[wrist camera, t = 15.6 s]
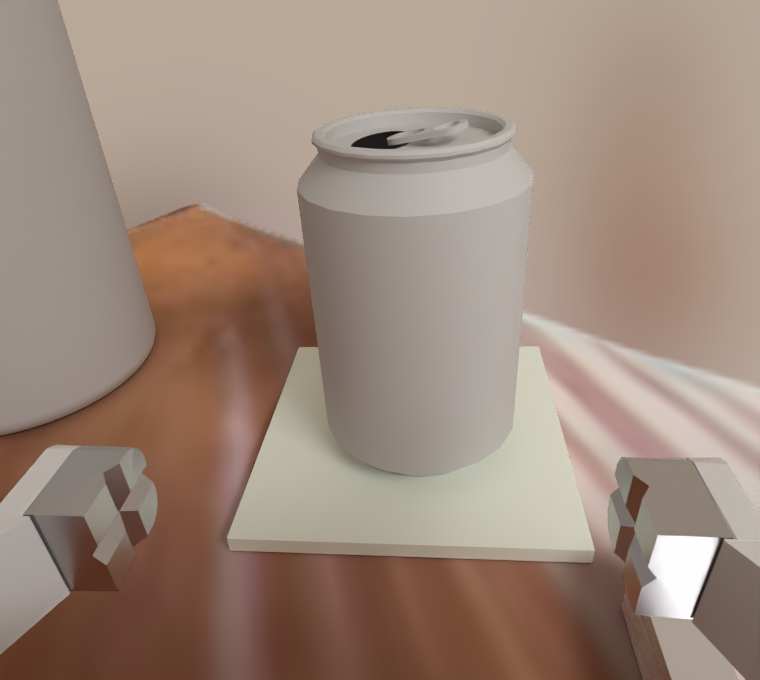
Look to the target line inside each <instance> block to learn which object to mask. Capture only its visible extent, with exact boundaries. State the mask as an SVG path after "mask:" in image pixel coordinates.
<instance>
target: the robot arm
mask: <svg viewBox="0 0 760 680" xmlns="http://www.w3.org/2000/svg"><path fill="white" fill-rule="evenodd" d="M146 465H147V463H146V461H145V458H144V456H143V453H142V451H141V450H139V449H136V448H130V447H108V446H86V445H82V446H72V445H54V446H52V447H49V448H47V449H46V450H45V451H44V452H43V453H42V455H41V456H40V457H39V458H38V459H37V460H36V462H35V463H34V464H33V465H32V466H31V468H30V469H29V470H28V471H27V472H26V473H25V475H24V476H23V477H22V478H21V479H20V481H19V482H18V483H17V484H16V485H15V487H14V488H13V489H12V490H11V491H10V492H9V494H8V495H7V496H6V497H5V498H4V500H3V501H2V502H1V503H0V654H1V653H3V652H4V651H5V650H6V649H7V648H8V647H9V646H11V645H12V644H13V643H14V642H15V641H16V640H17V639H19V638H20V637H21V636H22V635H23V634H24V633H26V632H27V631H28V630H29V629H30V628H31V627H32V626H34V625H35V624H36V623H37V622H38V621H39V620H40V619H42V618H43V617H44V616H45V615H46V614H47V613H48V612H50V611H51V610H52V609H53V608H54V607H55V606H56V605H58V604H59V603H60V602H61V601H62V600H63V599H65V598H66V597H67V596H68V595H69V594H70V591H119V590H120V588H121V586H122V584H123V582H124V580H125V578H126V576H127V574H128V573H129V571H130V569H131V567H132V565H133V563H134V561H135V559H136V554H135V550H134V546H135V545H136V544H137V543H139V542H140V541H142V540H143V539H144V538H146V537H147V536H148V534H149V532H150V530H151V528H152V526H153V524H154V522H155V517H156V512H157V507H158V500H157V492H156V489H155V486H154V483H153V482H152V481H151V480H150V479H148V478H147V477H146V476H145V475H144V474H142V472H143V470H144V469H145V467H146ZM615 477H616V480H617V483H618V486H619V488H618V489H617V490H616V491H614V492H613V493H612V494H611V495H610V500H609V505H608V529H609V535H610V540H611V543H612V547H613V550H614V553H615V554H616V555H617V556H619V557H620V558H621V559H622V560H623V561H624V562H625V566H624V570H623V574H622V579H623V582H624V586H625V589H626V592H627V595H628V598H629V601H630V604H631V608H632V611H633V614H634V615H639V616H653V617H666V618H680V619H693V620H692V623H693V624H694V625H695V626H696V627H697V628H698V629H699V630H700V631H701V632H702V634H703V635H704V636H705V637H706V638H707V639H708V640H709V641H710V642H711V643H712V644H713V645H714V646H715V647H716V648H717V649H718V651H719V652H720V653H721V654H722V655H723V656H724V657H725V658H726V659H727V660H728V661H729V662H730V663H731V664H732V665H733V666H734V668H735V669H736V670H737V671H738V672H739V673H740V674H741V675H742V676H743V677H744V678H745V679H746V680H760V516H759V514H758V513H757V511H756V510H755V508H754V506H753V505H752V503H751V501H750V500H749V498H748V497H747V495H746V493H745V492H744V490H743V488H742V487H741V485H740V484H739V482H738V480H737V479H736V477H735V475H734V474H733V472H732V471H731V469H730V467H729V466H728V464H727V462H725V461H724V460H722V459H721V458H686V459H684V458H638V457H621V459H620V460H619V462H618V464H617V468H616V472H615Z"/></svg>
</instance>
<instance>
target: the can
mask: <svg viewBox="0 0 760 680" xmlns="http://www.w3.org/2000/svg"><path fill="white" fill-rule="evenodd" d="M516 127H517V126H516V124H515V123H513V122H512V121H511V120H510V119H508V118H507V117H506V116H502V115H499V114H496V113H492V112H488V111H481V110H474V109H463V108H462V109H461V108H444V107H442V108H407V109H393V110H384V111H377V112H369V113H363V114H358V115H354V116H349V117H344V118H341V119H338V120H335V121H332V122H329V123H326V124H324V125H323V126H321V127H320V128H318V129H317V130H315V131H314V133H313V135H312V144H313V145H314V146H315V147H317V150H318V154H317V155H316V157H315V158H314V159H313V161H312V162H311V164H310V165H309V166H308V168H307V170H306V171H305V172H304V173H303V175H302V176H301V178H300V179H299V183H298V188H297V194H298V202H299V209H300V216H301V224H302V232H303V239H304V247H305V254H306V262H307V269H308V277H309V284H310V292H311V299H312V306H313V314H314V321H315V329H316V336H317V344H318V351H319V359H320V366H321V374H322V381H323V389H324V396H325V404H326V411H327V419H328V425H329V427H330V429H331V431H332V433H333V435H334V437H335V439H336V441H337V443H338V444H339V445H340V446H341V447H342V448H344V449H345V450H346V451H347V452H348V453H350V454H351V455H352V456H353V457H354V458H355V459H357V460H359V461H362V462H364V463H367V464H369V465H371V466H374V467H376V468H379V469H381V470H383V471H388V472H391V473H394V474H401V475H408V476H415V477H422V476H434V475H443V474H446V473H449V472H452V471H455V470H458V469H461V468H464V467H466V466H469V465H472V464H475V463H478V462H480V461H481V460H483V459H484V458H486V457H487V456H488V455H490V454H491V453H493V452H494V451H496V450H497V449H498V448H500V447H501V446H502V444H503V442H504V441H505V439H506V438H507V436H508V435H509V433H510V432H511V430H512V429H513V418H514V408H515V396H516V383H517V371H518V359H519V347H520V335H521V323H522V311H523V298H524V287H525V275H526V262H527V249H528V238H529V226H530V214H531V213H530V212H531V202H532V189H533V178H534V172H533V171H532V170H531V169H530V167H529V166H528V165H527V164H526V163H525V162H524V160H523V159H522V158H521V157H520V155H519V154H518V153H517V152H516V151H515V149H514V148H513V147H512V146H511V145H510V141H511V139H512V138H513V137H514V136H515V133H516Z"/></svg>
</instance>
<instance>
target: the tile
mask: <svg viewBox="0 0 760 680" xmlns="http://www.w3.org/2000/svg"><path fill="white" fill-rule="evenodd" d="M227 542H228V546H229V549H230V551H259V552H288V553H317V554H346V555H375V556H404V557H433V558H461V559H490V560H519V561H548V562H577V563H592V562H593V557H594V553H595V549H594V546H593V542H592V538H591V535H590V531H589V527H588V524H587V520H586V516H585V513H584V509H583V506H582V502H581V498H580V495H579V491H578V487H577V484H576V480H575V477H574V473H573V469H572V466H571V462H570V458H569V455H568V451H567V447H566V444H565V440H564V437H563V433H562V429H561V426H560V422H559V418H558V415H557V411H556V407H555V404H554V400H553V397H552V393H551V389H550V386H549V382H548V378H547V375H546V371H545V368H544V364H543V360H542V357H541V353H540V349H539V347H519V359H518V371H517V383H516V396H515V408H514V418H513V429H512V430H511V432H510V433H509V435H508V436H507V438H506V439H505V441H504V442H503V444H502V446H501V447H500V448H498V449H497V450H496V451H494V452H493V453H491V454H490V455H488V456H487V457H486V458H484V459H483V460H481V461H480V462H478V463H475V464H472V465H469V466H466V467H464V468H461V469H458V470H455V471H452V472H449V473H446V474H443V475H434V476H422V477H415V476H408V475H401V474H394V473H391V472H388V471H383V470H381V469H379V468H376V467H374V466H371V465H369V464H367V463H364V462H362V461H359V460H357V459H355V458H354V457H353V456H352V455H351V454H350V453H348V452H347V451H346V450H345V449H344V448H342V447H341V446H340V445H339V444H338V443H337V441H336V439H335V437H334V435H333V433H332V431H331V429H330V427H329V425H328V419H327V411H326V404H325V396H324V389H323V381H322V374H321V366H320V359H319V351H318V347H299V349H298V351H297V354H296V356H295V359H294V362H293V364H292V367H291V370H290V372H289V375H288V378H287V380H286V383H285V386H284V388H283V391H282V393H281V396H280V399H279V401H278V404H277V407H276V409H275V412H274V415H273V417H272V420H271V423H270V425H269V428H268V430H267V433H266V436H265V438H264V441H263V444H262V446H261V449H260V452H259V454H258V457H257V459H256V462H255V465H254V467H253V470H252V473H251V475H250V478H249V481H248V483H247V486H246V489H245V491H244V494H243V496H242V499H241V502H240V504H239V507H238V510H237V512H236V515H235V518H234V520H233V523H232V526H231V528H230V531H229V533H228V536H227Z"/></svg>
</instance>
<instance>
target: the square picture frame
mask: <svg viewBox="0 0 760 680" xmlns="http://www.w3.org/2000/svg"><path fill="white" fill-rule="evenodd" d="M621 608H622V612H623V615H624V618H625V622H626V625H627V629H628V632H629V635H630V639H631V642H632V646H633V649H634V653H635V656H636V659H637V663H638V666H639V670H640V673H641V677H642V680H738V678H737V676H736V674H735V671H734V669H733V667H732V664H731V663H730V662H729V661H728V660H727V659H726V658H725V657H724V656H723V655H722V654H721V653H720V652H719V651H718V649H717V648H716V647H715V646H714V645H713V644H712V643H711V642H710V641H709V640H708V639H707V638H706V637H705V636H704V635H703V634H702V632H701V631H700V630H699V629H698V628H697V627H696V626H695V625H694V624H693V623H692V620H693V619H680V618H666V617H653V616H639V615H634V614H633V611H632V608H631V604H630V601H629V598H628V595H627V592H626V590H625V594H624V597H623V601H622V605H621Z"/></svg>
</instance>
